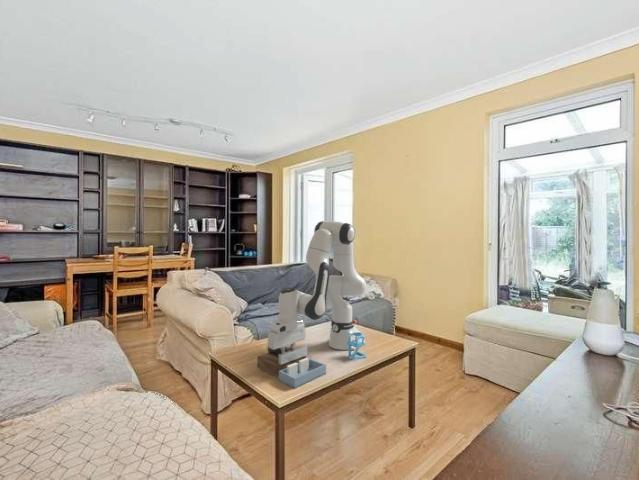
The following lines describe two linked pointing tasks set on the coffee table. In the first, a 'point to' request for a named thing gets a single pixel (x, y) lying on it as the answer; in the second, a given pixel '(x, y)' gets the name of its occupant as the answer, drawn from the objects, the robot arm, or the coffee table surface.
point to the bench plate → (273, 363)
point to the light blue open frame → (356, 345)
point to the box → (303, 374)
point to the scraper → (289, 354)
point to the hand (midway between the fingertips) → (287, 353)
